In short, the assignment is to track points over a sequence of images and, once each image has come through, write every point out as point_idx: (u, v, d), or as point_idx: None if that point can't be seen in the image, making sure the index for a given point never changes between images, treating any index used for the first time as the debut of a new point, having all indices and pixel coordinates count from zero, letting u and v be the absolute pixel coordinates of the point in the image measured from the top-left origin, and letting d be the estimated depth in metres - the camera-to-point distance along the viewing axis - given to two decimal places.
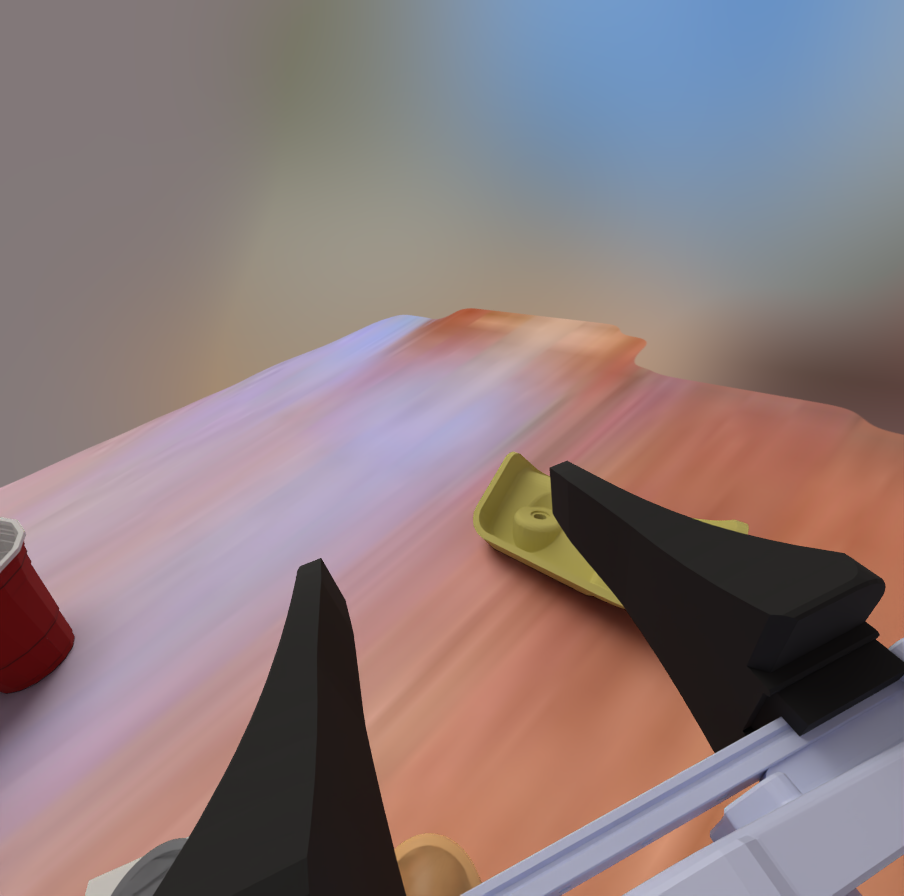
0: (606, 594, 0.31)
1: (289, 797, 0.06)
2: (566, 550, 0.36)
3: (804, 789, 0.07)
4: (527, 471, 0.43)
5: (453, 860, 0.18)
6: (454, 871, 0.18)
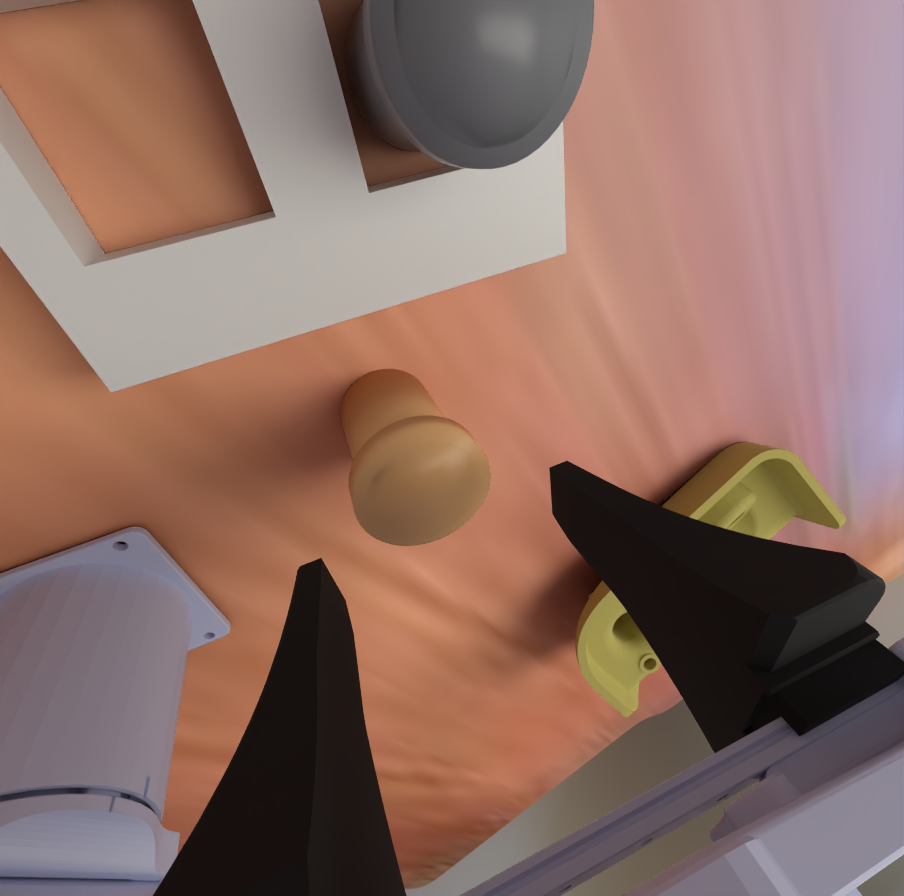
0: None
1: (289, 797, 0.06)
2: None
3: (805, 789, 0.07)
4: (796, 515, 0.32)
5: (461, 512, 0.16)
6: (452, 515, 0.16)
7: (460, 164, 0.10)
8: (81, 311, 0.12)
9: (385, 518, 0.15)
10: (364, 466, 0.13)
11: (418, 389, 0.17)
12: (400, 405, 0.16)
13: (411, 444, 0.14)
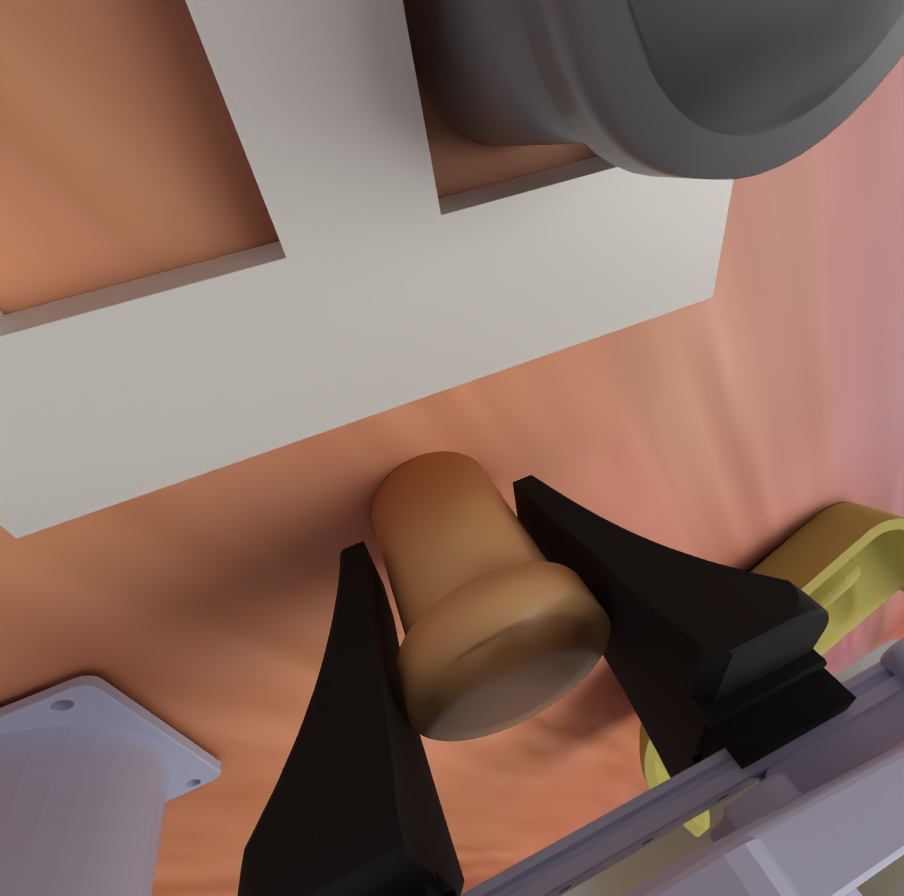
0: None
1: (367, 760, 0.07)
2: None
3: (805, 789, 0.07)
4: (900, 588, 0.27)
5: (560, 687, 0.11)
6: (547, 692, 0.10)
7: (681, 170, 0.05)
8: None
9: (453, 715, 0.09)
10: (429, 661, 0.08)
11: (486, 487, 0.12)
12: (470, 529, 0.10)
13: (506, 624, 0.08)
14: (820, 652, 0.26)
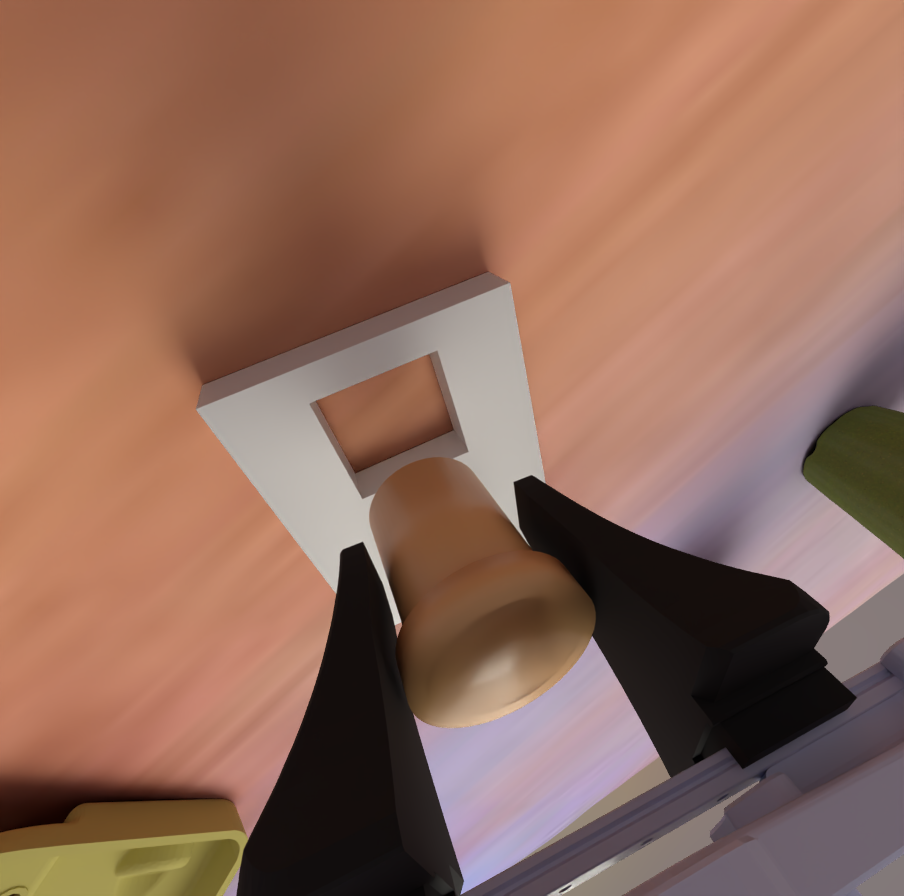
0: (41, 852, 0.23)
1: (366, 760, 0.07)
2: None
3: (805, 789, 0.07)
4: None
5: (547, 678, 0.11)
6: (534, 683, 0.11)
7: None
8: (272, 398, 0.16)
9: (447, 698, 0.10)
10: (431, 636, 0.09)
11: (481, 490, 0.13)
12: (468, 523, 0.11)
13: (503, 603, 0.09)
14: None
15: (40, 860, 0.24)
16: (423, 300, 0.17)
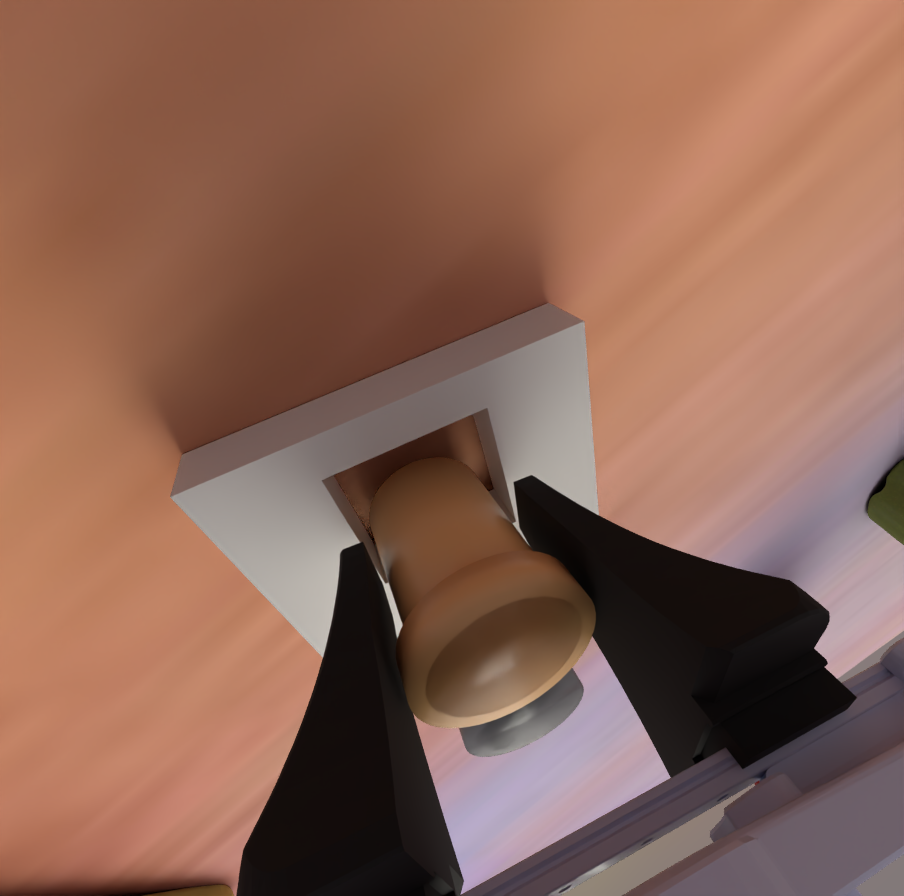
0: None
1: (366, 760, 0.07)
2: None
3: (805, 789, 0.07)
4: None
5: (547, 678, 0.11)
6: (535, 683, 0.11)
7: (466, 735, 0.15)
8: (273, 477, 0.12)
9: (447, 698, 0.10)
10: (431, 636, 0.09)
11: (481, 490, 0.13)
12: (468, 523, 0.11)
13: (503, 603, 0.09)
14: None
15: None
16: (467, 341, 0.13)
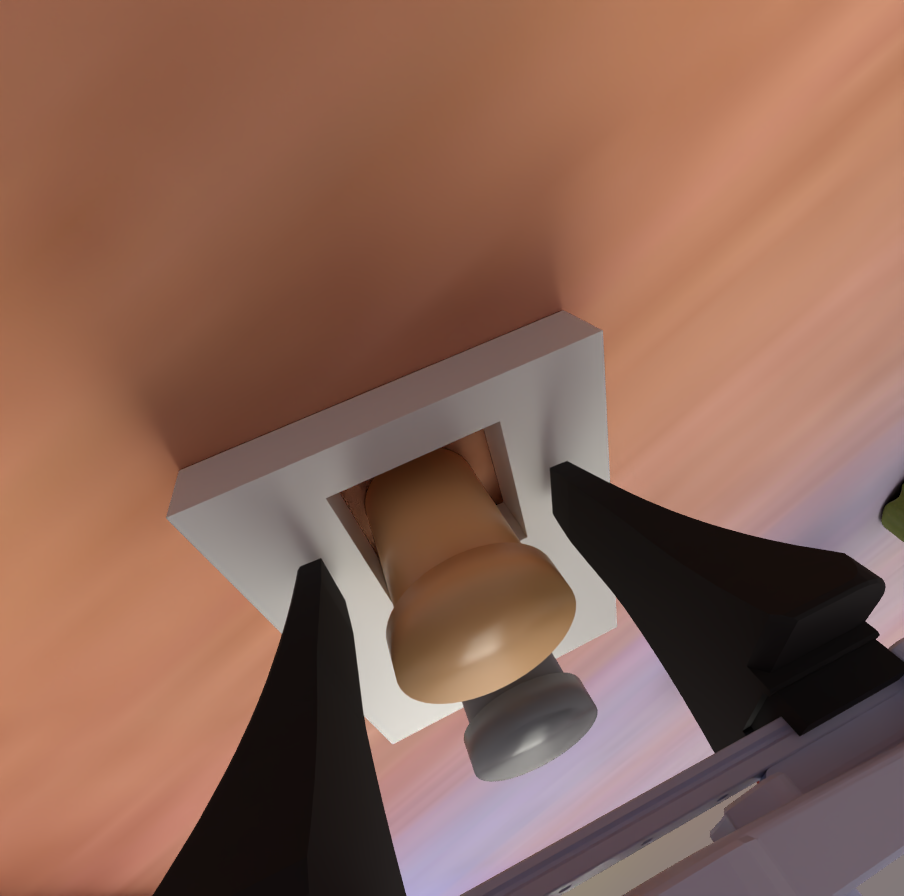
0: None
1: (289, 797, 0.06)
2: None
3: (805, 789, 0.07)
4: None
5: (528, 660, 0.12)
6: (517, 664, 0.12)
7: (476, 761, 0.14)
8: (275, 496, 0.11)
9: (433, 677, 0.11)
10: (419, 621, 0.09)
11: (473, 481, 0.14)
12: (458, 514, 0.12)
13: (487, 592, 0.10)
14: None
15: None
16: (478, 351, 0.13)
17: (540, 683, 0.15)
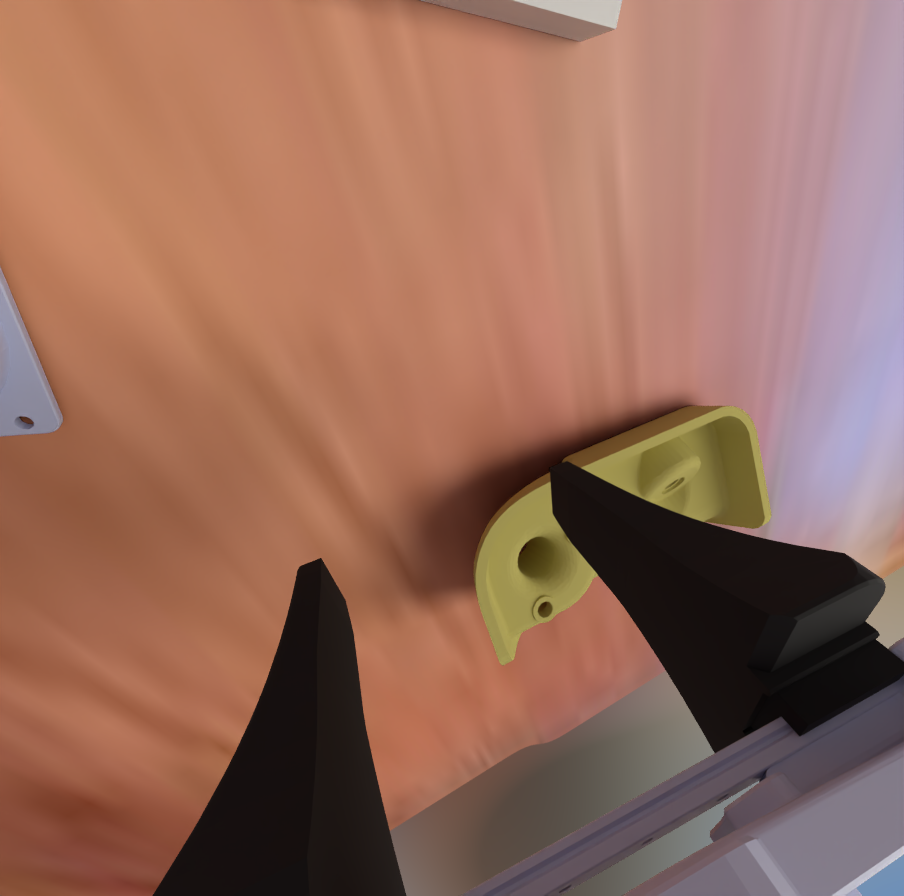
0: None
1: (289, 797, 0.06)
2: (619, 477, 0.27)
3: (805, 789, 0.07)
4: (718, 513, 0.30)
5: None
6: None
7: None
8: None
9: None
10: None
11: None
12: None
13: None
14: None
15: None
16: None
17: None
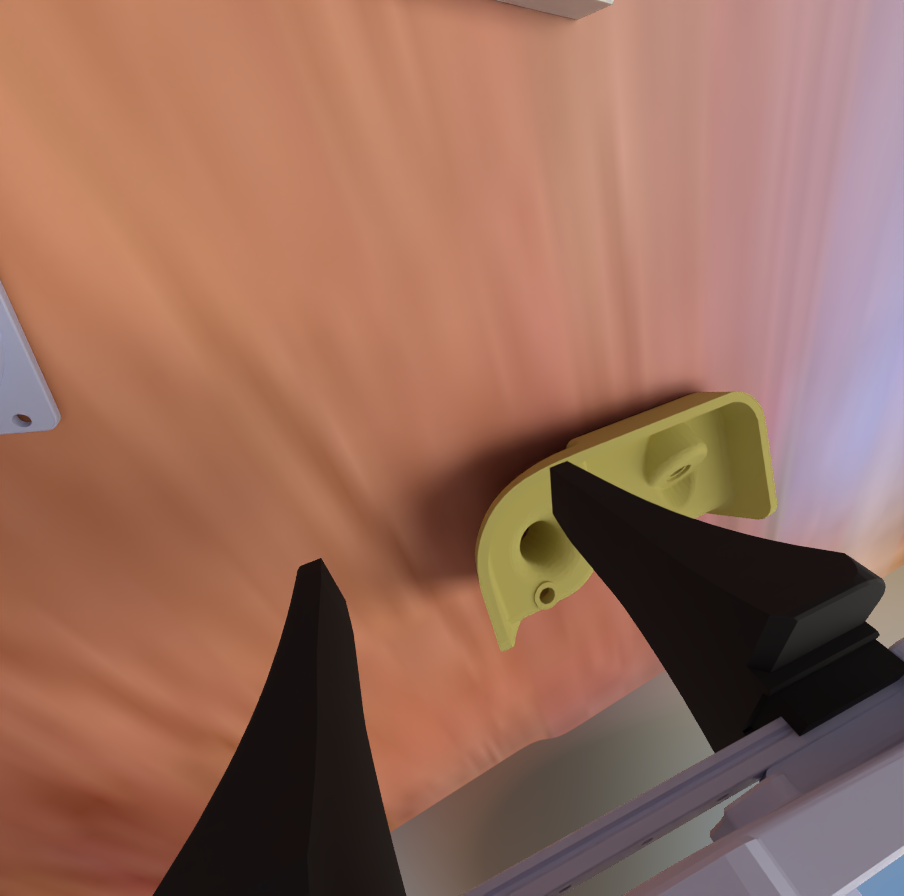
0: None
1: (289, 797, 0.06)
2: (624, 463, 0.26)
3: (805, 789, 0.07)
4: (722, 504, 0.30)
5: None
6: None
7: None
8: None
9: None
10: None
11: None
12: None
13: None
14: None
15: None
16: None
17: None
